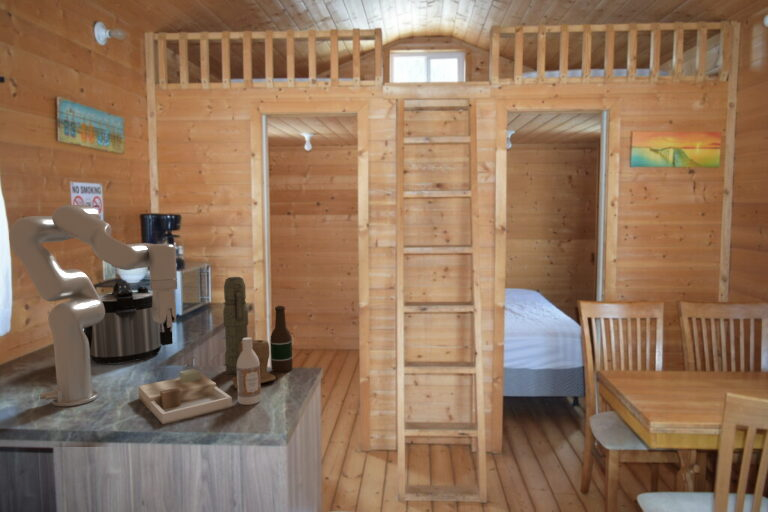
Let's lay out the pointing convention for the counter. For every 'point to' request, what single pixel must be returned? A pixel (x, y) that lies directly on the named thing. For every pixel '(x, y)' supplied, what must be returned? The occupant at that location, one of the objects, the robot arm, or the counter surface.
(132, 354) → the pressure cooker
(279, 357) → the beer bottle
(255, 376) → the bath foam
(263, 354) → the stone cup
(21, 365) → the counter surface
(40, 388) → the counter surface
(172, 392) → the walnut tile
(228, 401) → the box
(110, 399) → the counter surface
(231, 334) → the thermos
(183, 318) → the counter surface
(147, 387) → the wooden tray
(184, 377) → the sage tile
